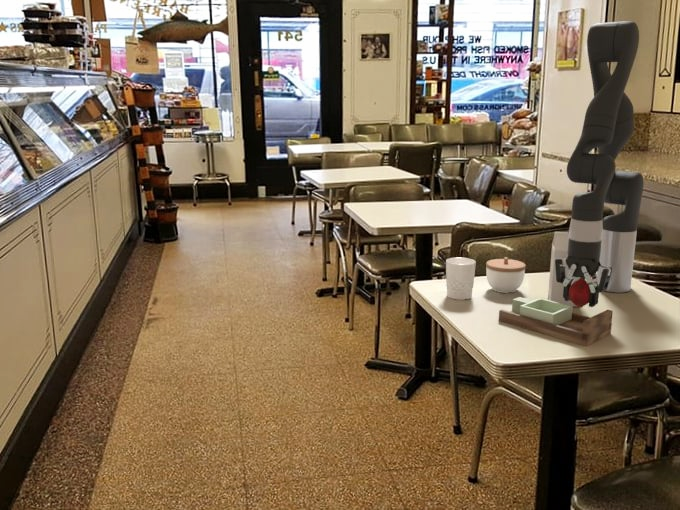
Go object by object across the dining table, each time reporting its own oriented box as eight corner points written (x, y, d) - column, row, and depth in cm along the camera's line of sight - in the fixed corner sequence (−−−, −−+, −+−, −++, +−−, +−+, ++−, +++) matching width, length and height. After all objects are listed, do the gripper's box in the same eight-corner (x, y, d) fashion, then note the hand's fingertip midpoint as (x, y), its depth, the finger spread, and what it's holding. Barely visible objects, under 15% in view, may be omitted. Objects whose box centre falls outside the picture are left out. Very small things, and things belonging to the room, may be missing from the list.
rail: (524, 310, 174) (525, 289, 173) (610, 333, 158) (613, 310, 156) (498, 320, 166) (499, 298, 165) (586, 346, 150) (588, 322, 149)
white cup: (441, 298, 183) (443, 263, 181) (448, 290, 190) (449, 256, 188) (470, 302, 180) (472, 265, 178) (476, 294, 188) (478, 258, 185)
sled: (525, 306, 172) (525, 294, 171) (571, 319, 163) (572, 306, 162) (505, 314, 166) (505, 301, 165) (552, 327, 157) (553, 314, 156)
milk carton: (578, 307, 176) (585, 236, 172) (550, 305, 178) (556, 234, 173) (575, 299, 183) (581, 230, 178) (547, 297, 184) (553, 229, 180)
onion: (589, 312, 164) (591, 281, 162) (564, 308, 167) (567, 277, 165) (594, 305, 169) (597, 275, 166) (570, 302, 172) (573, 271, 169)
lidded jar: (480, 285, 196) (481, 253, 194) (516, 284, 197) (518, 252, 194) (491, 296, 186) (492, 263, 183) (529, 295, 186) (531, 262, 184)
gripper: (621, 239, 160) (615, 306, 165) (565, 229, 171) (561, 293, 175) (606, 244, 155) (600, 314, 160) (550, 234, 166) (545, 300, 170)
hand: (579, 303), depth 167 cm, fingers closed on onion, 6 cm apart
